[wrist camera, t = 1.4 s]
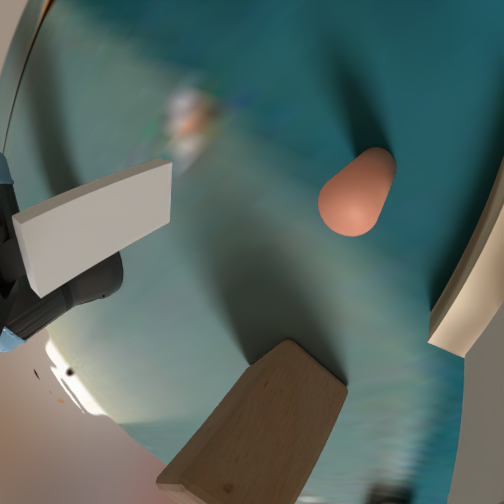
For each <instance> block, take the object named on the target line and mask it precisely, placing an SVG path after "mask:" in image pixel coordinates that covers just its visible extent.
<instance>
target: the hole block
mask: <svg viewBox="0 0 504 504" xmlns="http://www.w3.org/2000/svg"><path fill="white" fill-rule="evenodd" d="M503 302H504V156H503V159H502V162H501V165H500V168H499V171H498V174H497V176H496V179H495V182H494V185H493V187H492V190H491V192H490V195H489V197H488V200H487V202H486V205H485V207H484V210H483V212H482V214H481V217H480V219H479V221H478V223H477V226H476V228H475V230H474V232H473V234H472V237H471V239H470V241H469V243H468V245H467V247H466V249H465V251H464V253H463V255H462V257H461V259H460V261H459V263H458V265H457V267H456V269H455V271H454V273H453V274H452V276H451V278H450V280H449V282H448V284H447V285H446V287H445V289H444V291H443V293H442V294H441V296H440V298H439V299H438V301H437V303H436V305H435V306H434V308H433V310H432V311H431V313H430V325H429V335H428V343H431V344H433V345H435V346H437V347H440V348H442V349H444V350H447V351H449V352H451V353H454V354H456V355H458V356H461V357H463V358H465V355H466V353H467V352H468V351H469V350H470V348H471V347H472V346H473V344H474V343H475V342H476V340H477V339H478V338H479V336H480V335H481V334H482V332H483V331H484V329H485V328H486V327H487V325H488V324H489V322H490V321H491V320H492V318H493V317H494V315H495V314H496V312H497V311H498V309H499V308H500V306H501V305H502V303H503Z"/></svg>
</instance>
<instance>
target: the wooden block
mask: <svg viewBox="0 0 504 504" xmlns="http://www.w3.org/2000/svg"><path fill="white" fill-rule="evenodd" d="M347 394H348V389H347V388H346V386H345V385H344V384H343V383H342V382H341V381H339V380H338V379H337V378H336V377H335V376H333V375H332V374H331V373H330V372H329V371H328V370H326V369H325V368H324V367H323V366H322V365H321V364H319V363H318V362H317V361H316V360H315V359H314V358H312V357H311V356H310V355H309V354H308V353H307V352H305V351H304V350H303V349H302V348H301V347H300V346H299V345H297V344H296V343H295V342H294V341H291V340H285V341H283V342H281V343H280V344H278V345H277V346H276V347H275V348H273V349H272V350H271V351H269V352H268V353H267V354H266V355H264V356H263V357H262V358H260V359H259V360H258V361H256V362H255V363H254V364H252V365H251V366H250V367H248V368H247V369H246V370H245V372H244V373H243V374H242V376H241V377H240V378H239V379H238V381H237V382H236V383H235V385H234V386H233V387H232V388H231V390H230V391H229V392H228V393H227V395H226V396H225V397H224V398H223V400H222V401H221V402H220V403H219V405H218V406H217V407H216V408H215V410H214V411H213V412H212V413H211V415H210V416H209V417H208V418H207V420H206V421H205V422H204V423H203V424H202V426H201V427H200V428H199V429H198V430H197V432H196V433H195V434H194V435H193V436H192V438H191V439H190V440H189V441H188V442H187V444H186V445H185V446H184V447H183V448H182V449H181V451H180V452H179V453H178V454H177V455H176V456H175V458H174V459H173V460H172V461H171V462H170V463H169V464H168V466H167V467H166V468H165V469H164V470H163V471H162V472H161V474H160V475H159V476H158V477H157V480H156V485H157V486H158V488H159V489H160V490H161V491H162V492H163V493H165V494H166V495H168V496H169V497H170V498H172V499H173V500H175V501H176V502H177V503H179V504H294V503H295V502H296V500H297V498H298V496H299V495H300V493H301V491H302V489H303V487H304V485H305V484H306V482H307V480H308V478H309V476H310V474H311V472H312V470H313V468H314V466H315V464H316V462H317V460H318V458H319V456H320V454H321V452H322V450H323V448H324V446H325V444H326V442H327V440H328V438H329V435H330V433H331V431H332V429H333V427H334V424H335V422H336V420H337V418H338V415H339V413H340V411H341V408H342V406H343V404H344V401H345V399H346V397H347Z"/></svg>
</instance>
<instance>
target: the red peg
mask: <svg viewBox="0 0 504 504" xmlns="http://www.w3.org/2000/svg"><path fill="white" fill-rule="evenodd" d="M395 174H396V162H395V160H394V158H393V156H392V155H391V154H390V153H389V152H388V151H387V150H385V149H383V148H379V147H372V148H369V149H367V150H365V151H364V152H363V153H362V154H360V155H359V156H358V157H357V158H356V159H354V160H353V161H352V162H351V163H350V164H348V165H347V166H346V167H345V168H344V169H342V170H341V171H340V172H339V173H338V174H336V175H335V176H334V177H333V178H332V179H330V180H329V181H328V182H327V183H326V184H325V185H324V186H323V188H322V189H321V191H320V194H319V198H318V207H319V212H320V215H321V217H322V219H323V220H324V222H325V223H326V224H327V225H328V226H329V227H330V228H331V229H332V230H333V231H335V232H337V233H339V234H342V235H345V236H358V235H361V234H364V233H366V232H367V231H369V230H370V229H371V228H372V227H373V226H374V224H375V223H376V221H377V219H378V216H379V214H380V212H381V209H382V207H383V204H384V202H385V199H386V197H387V194H388V192H389V189H390V187H391V184H392V182H393V179H394V177H395Z"/></svg>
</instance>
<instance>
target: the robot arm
mask: <svg viewBox="0 0 504 504" xmlns="http://www.w3.org/2000/svg"><path fill="white" fill-rule="evenodd" d="M171 179H172V162H170V161H167V160H164V159H161V158H157V159H154V160H151V161H148V162H145V163H142V164H139V165H136V166H133V167H130V168H127V169H124V170H121V171H118V172H116V173H113V174H110V175H107V176H105V177H102V178H99V179H97V180H94V181H91V182H89V183H86V184H84V185H81V186H79V187H76V188H74V189H71V190H69V191H66V192H64V193H61V194H59V195H57V196H54V197H52V198H50V199H47V200H45V201H43V202H41V203H38V204H36V205H34V206H32V207H30V208H27V209H25V210H23V211H21V212H20V211H19V207H18V203H17V200H16V196H15V192H14V188H13V184H14V181H13V180H12V178H11V174H10V171H9V167H8V163H7V159H6V157H5V156H4V155H3V154H2V153H1V152H0V352H4V353H6V352H9V351H11V350H12V349H14V348H16V347H18V346H19V345H21V344H23V343H26V342H27V340H28V339H29V338H31V337H32V336H33V335H35V334H36V333H37V332H39V331H40V330H42V329H43V328H44V327H46V326H47V325H48V324H50V323H51V322H53V321H54V320H55V319H57V318H58V317H60V316H61V315H62V314H64V313H65V312H67V311H68V310H69V309H71V308H73V307H74V306H76V305H80V304H84V303H87V302H91V301H94V300H97V299H103V298H106V297H108V296H110V295H111V294H113V293H114V292H116V291H117V290H118V289H119V288H120V287H121V284H122V280H123V271H122V264H121V260H120V256H119V253H118V251H119V250H121V249H123V248H124V247H126V246H128V245H130V244H131V243H133V242H135V241H137V240H138V239H140V238H142V237H144V236H146V235H147V234H149V233H151V232H153V231H155V230H156V229H158V228H160V227H162V226H164V225H165V224H167V223H169V222H170V202H171ZM447 504H504V302H503V303H502V305H501V306H500V308H499V309H498V311H497V312H496V314H495V315H494V317H493V318H492V320H491V321H490V322H489V324H488V325H487V327H486V328H485V329H484V331H483V332H482V334H481V335H480V336H479V338H478V339H477V340H476V342H475V343H474V344H473V346H472V347H471V348H470V350H469V351H468V352H467V353H466V355H465V373H464V394H463V407H462V418H461V427H460V436H459V443H458V450H457V456H456V462H455V468H454V473H453V478H452V483H451V487H450V492H449V496H448V500H447Z"/></svg>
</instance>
